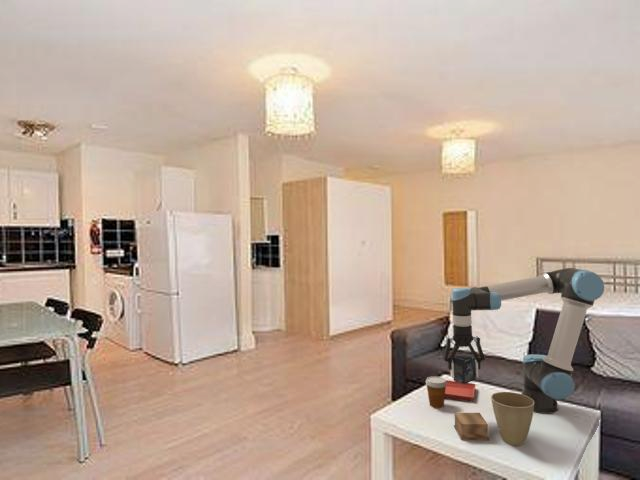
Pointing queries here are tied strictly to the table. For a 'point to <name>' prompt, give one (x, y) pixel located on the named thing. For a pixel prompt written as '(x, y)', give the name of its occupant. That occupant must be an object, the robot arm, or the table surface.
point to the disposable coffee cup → (436, 391)
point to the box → (464, 368)
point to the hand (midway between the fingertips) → (464, 376)
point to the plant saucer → (459, 390)
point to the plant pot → (513, 416)
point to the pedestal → (471, 426)
